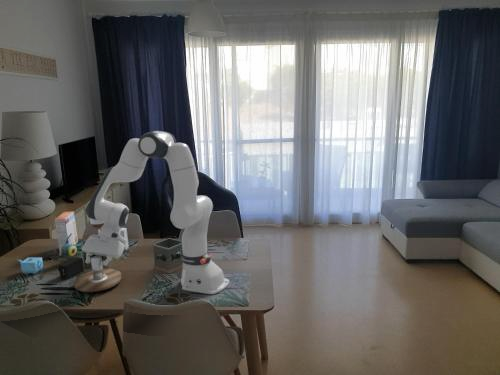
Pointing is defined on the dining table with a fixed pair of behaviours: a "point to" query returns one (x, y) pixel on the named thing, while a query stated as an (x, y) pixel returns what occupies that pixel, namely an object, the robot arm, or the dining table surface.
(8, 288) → the dining table surface
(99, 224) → the wineglass
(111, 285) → the turntable platter
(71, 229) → the cracker box
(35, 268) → the teapot
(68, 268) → the digital camera
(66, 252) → the decorative fish
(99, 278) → the cast sleeve
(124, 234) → the skincare box
